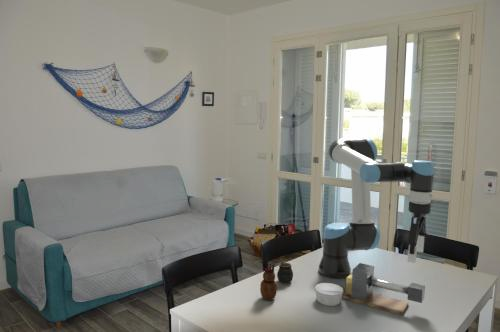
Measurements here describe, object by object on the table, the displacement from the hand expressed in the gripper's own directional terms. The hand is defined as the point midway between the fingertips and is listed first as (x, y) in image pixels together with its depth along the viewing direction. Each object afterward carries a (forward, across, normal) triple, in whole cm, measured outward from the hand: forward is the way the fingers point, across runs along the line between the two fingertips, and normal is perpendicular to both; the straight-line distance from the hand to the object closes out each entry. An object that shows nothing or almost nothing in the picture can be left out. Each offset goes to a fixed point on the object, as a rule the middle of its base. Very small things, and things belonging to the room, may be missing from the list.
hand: (415, 256), depth 149 cm
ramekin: (+22, -12, +29) cm, 38 cm away
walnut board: (+22, -2, +15) cm, 26 cm away
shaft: (+16, -2, +8) cm, 18 cm away
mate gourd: (+22, -6, +53) cm, 58 cm away
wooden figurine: (+22, -24, +50) cm, 60 cm away
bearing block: (+20, -2, +19) cm, 28 cm away
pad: (+20, -2, +24) cm, 32 cm away
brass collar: (+17, -2, +23) cm, 29 cm away
